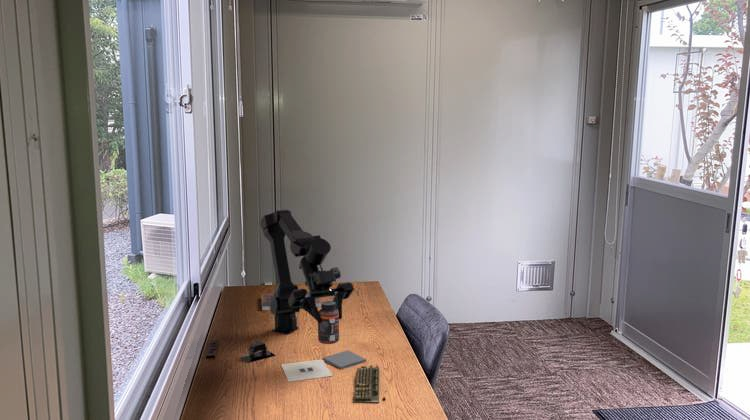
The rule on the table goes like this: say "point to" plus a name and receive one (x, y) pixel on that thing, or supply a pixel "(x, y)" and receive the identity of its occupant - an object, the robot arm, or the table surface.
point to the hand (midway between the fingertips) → (330, 320)
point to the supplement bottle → (328, 323)
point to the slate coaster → (344, 359)
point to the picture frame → (268, 300)
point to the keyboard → (367, 385)
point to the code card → (306, 370)
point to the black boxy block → (257, 356)
